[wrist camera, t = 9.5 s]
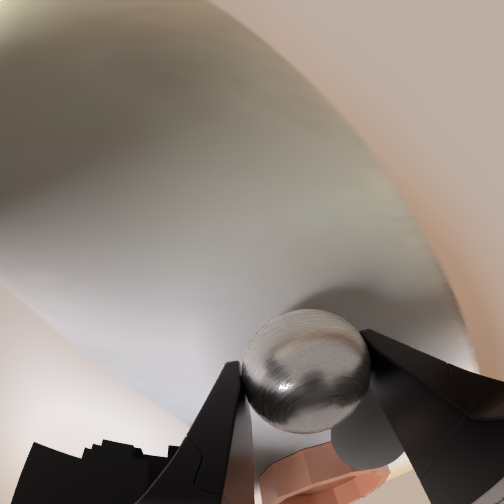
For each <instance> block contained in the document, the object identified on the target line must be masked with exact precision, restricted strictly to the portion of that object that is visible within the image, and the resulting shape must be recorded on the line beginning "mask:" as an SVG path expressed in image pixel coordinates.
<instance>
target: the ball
mask: <svg viewBox="0 0 504 504" xmlns="http://www.w3.org/2000/svg"><path fill="white" fill-rule="evenodd" d="M331 443H332V446H333V449H334V451H335V453H336V454H337V456H338V457H339V458H340V459H341V460H342V461H343V462H345V463H346V464H348V465H350V466H352V467H355V468H358V469H376V468H380V467H383V466H385V465H387V464H389V463H391V462H393V461H394V460H396V459H397V458H398V457H399V456H400V455H401V454H402V453H403V452H404V449H403V447H402V445H401V443H400V441H399V439H398V438H397V436H396V434H395V432H394V430H393V428H392V426H391V425H390V423H389V421H388V419H387V417H386V415H385V414H384V412H383V410H382V408H381V406H380V405H379V403H378V401H377V399H376V397H375V396H374V394H373V392H372V391H367V392H366V395H365V397H364V399H363V401H362V402H361V404H360V405H359V406H358V408H357V409H356V410H355V411H354V413H353V414H352V415H350V416H349V417H348V418H347V419H346V420H344V421H343V422H342V423H340V424H338V425H337V426H335V427H333V428H331Z"/></svg>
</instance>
